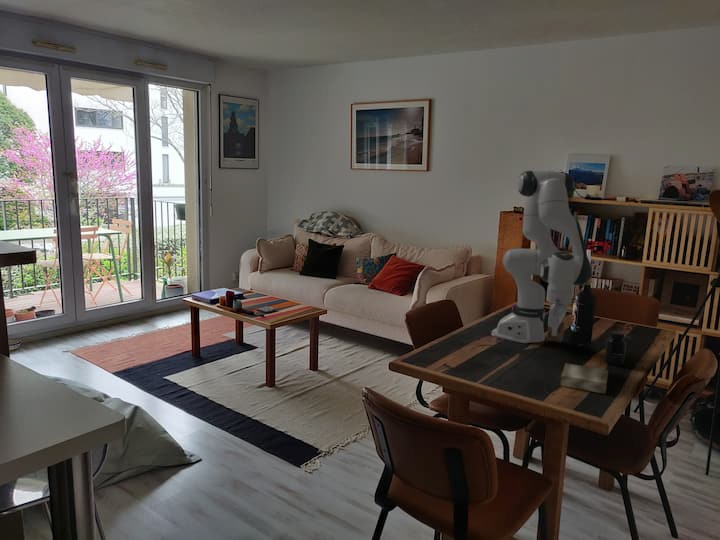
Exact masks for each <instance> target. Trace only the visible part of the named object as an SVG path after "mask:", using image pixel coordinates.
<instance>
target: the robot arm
mask: <svg viewBox="0 0 720 540" xmlns="http://www.w3.org/2000/svg"><path fill="white" fill-rule="evenodd" d="M574 184H575V183H574V177H573V176H572V174H570V173H567V172H563V171H562V172H558V171H556V170H555V171H554V170H526V171H523V172H522V173H520V175H519V177H518V181H517V189H518V193H519V194H520V195H521V196H524V197H526V200H525V203H524V208H523V218H522V219H523V220H522V221H523V222H522V234H523V236H524V237H525V238H526V239H527V240H529V241H531V242H533V243H534V244H535V246H536V248H511V249H508V250H507V251H506V252H505V253H504V255H503V258H502V265H503V268H504V269H505V271H506V272H508V273H509V274H510V275H511V276H512V277H513V279H514V281H515V284H516V287H517V302H515V303H513V304H512V307H511V313H509V314H507V315H505V316H503V317H502V318H501V319H500V320H499V322H498V323H497V327H495V328H493V329H492V331H491V333H490V335H491V336H492V337H494V338H498V339H503V340H508V341H513V342H517V343H521V344H529V343H541V342H544V341H546V337H545V331H544V321H545V314H546V311H545V309H546V307H545V299H546V302H548V303H549V304H548V305H549V306H550V308H549V312H548V320H547V326H548V327H552V336H557V332H558V331H557V330H558V327H559V325H560V324H561V323H563V322H562V321H563V320H564V318H565V316H566V315H567V311H568V307H569V306H568V305H571V304H572V303H573V295H574V287H573V286H584V285H586V284H587V283H588V282H589V281H590V280H591V279H592V275H593V271H592V270H593V269H592V265H591V262H590V260H589V257H588V253H587V249H586V245H585V244H586V243H585V240H584V237H583V231H582V229H581V224H580V222H579V220H578V219H577V218H575V217H574V215H572V213H571V211H570V208H569V207H570V206H569V196H570V195H572V193H573V190H574ZM551 230H553V231H555V232H559V233H560V234H562V235H564V236H566V237H567V238H568V240H569V242H570V245H571V250H572V251H571V252H572V253H569V252H567V251H561V250H559V248H557V246H556V245H555V244H554V243H555V242H554V241H553V239H552V235H551V234H552V233H551ZM532 276H539V278H540V279H541V280H542V281H543V282H545V283H548V285H547V291H546V290H545V288H544V286H542V285H541V284H539V283H538V282H536V281H535V280H533V279H532ZM548 327H547V328H548Z"/></svg>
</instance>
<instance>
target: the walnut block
mask: <svg viewBox="0 0 720 540" xmlns="http://www.w3.org/2000/svg"><path fill="white" fill-rule="evenodd" d="M565 325H566V324H565V322H561V324H560V325H559V327H558V330H557V331H558V332H557V336H552V327H547V335H546V336H547V337H546V341H552V342H557V343H562V341H563V340H564V334H565V333H564V331H565Z"/></svg>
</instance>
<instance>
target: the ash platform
mask: <svg viewBox="0 0 720 540" xmlns="http://www.w3.org/2000/svg"><path fill="white" fill-rule="evenodd" d="M560 375H561V376H560V385H561V386H560V385H559V386H560V387H565V386H566V388H567V387H568V388H571V387H572V388H571V389H576V388H578V389H577V390H582V389H583V390H582V391H587V390H588V391H589V392H594V393H598V394H603V393H604V394H603V395H606V392H607V383H608V376H609V370H608V369H602V368H596V367H592V366H591V367H590V366H584V365H580V364H578V365H577V364H572V363H567V362H566V363H565V364H564V367H563V370H562V373H561V374H560Z"/></svg>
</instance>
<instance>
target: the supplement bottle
mask: <svg viewBox="0 0 720 540" xmlns="http://www.w3.org/2000/svg"><path fill="white" fill-rule="evenodd" d="M605 343H606V344H605V345H606V346H605V351H604V359H603V360H604V363H606V364H608V365H611V366H622V365H624V362H625V358H626V357H625V356H626V349H627V342H626V341H625V333H624V332H622V331H618V330H616V331H615V330H611V331H610V335H609V338H607V339H606V342H605Z"/></svg>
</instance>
